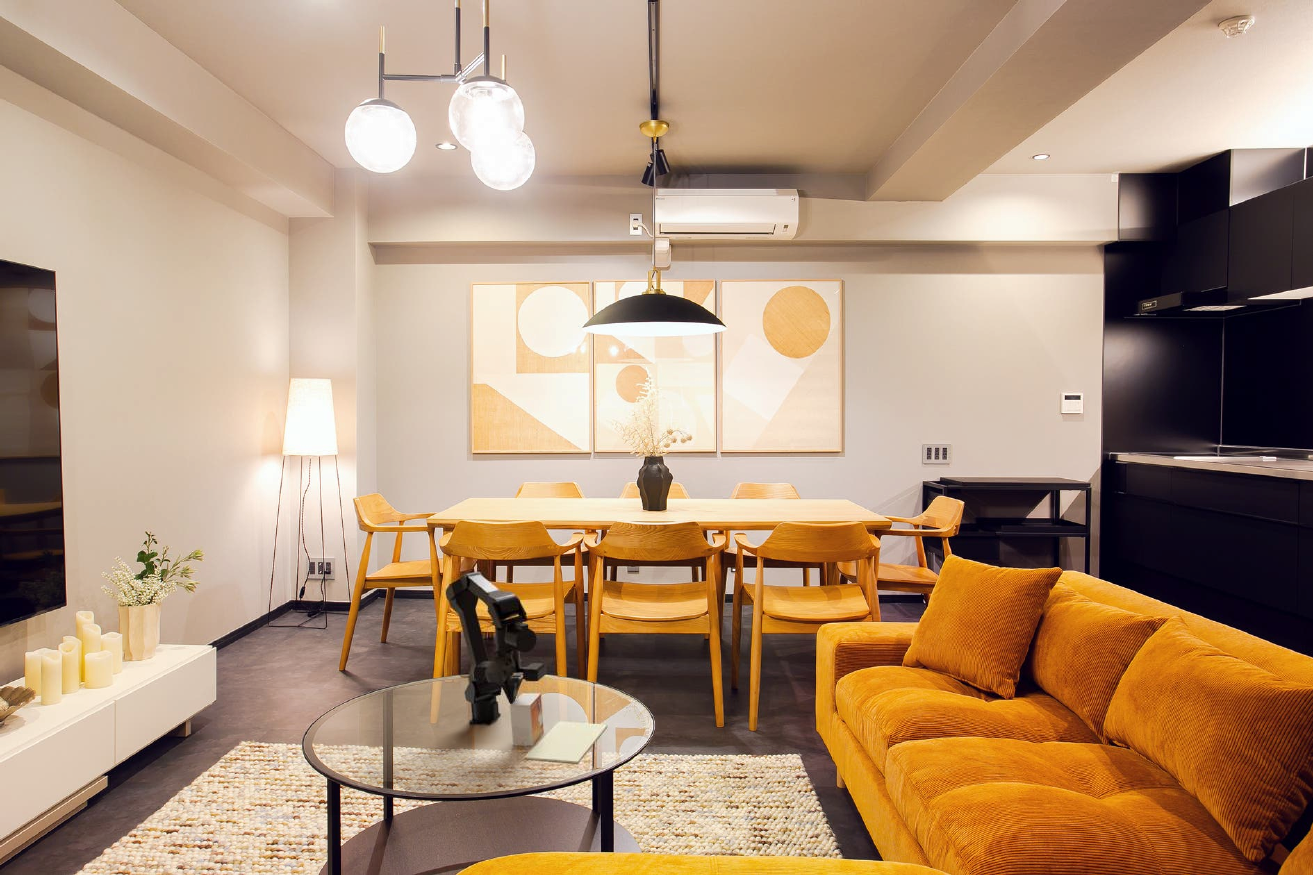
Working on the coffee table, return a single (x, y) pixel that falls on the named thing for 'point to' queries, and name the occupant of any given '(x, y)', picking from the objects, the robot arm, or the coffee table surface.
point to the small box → (526, 719)
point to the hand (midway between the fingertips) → (512, 703)
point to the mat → (567, 742)
